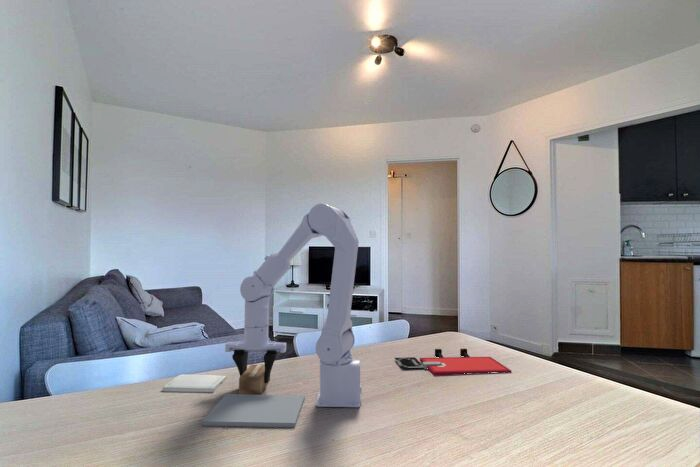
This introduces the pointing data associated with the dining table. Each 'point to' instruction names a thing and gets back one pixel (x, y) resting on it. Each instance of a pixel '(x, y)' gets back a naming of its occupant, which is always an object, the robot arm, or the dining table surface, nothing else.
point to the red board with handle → (454, 364)
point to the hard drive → (195, 383)
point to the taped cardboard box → (253, 380)
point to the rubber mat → (256, 411)
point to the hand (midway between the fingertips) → (255, 381)
